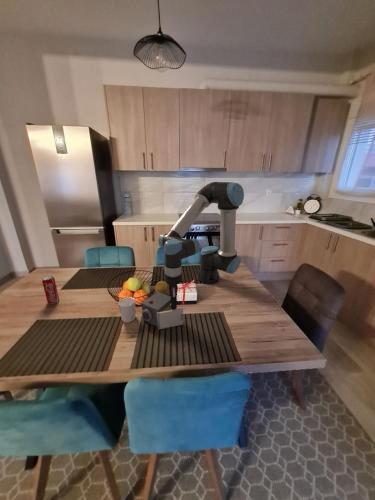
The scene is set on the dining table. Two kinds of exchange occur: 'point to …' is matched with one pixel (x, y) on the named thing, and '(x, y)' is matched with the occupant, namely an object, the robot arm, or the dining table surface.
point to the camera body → (155, 307)
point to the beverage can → (50, 289)
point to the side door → (169, 318)
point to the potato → (162, 288)
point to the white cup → (127, 309)
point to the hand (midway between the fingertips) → (173, 316)
